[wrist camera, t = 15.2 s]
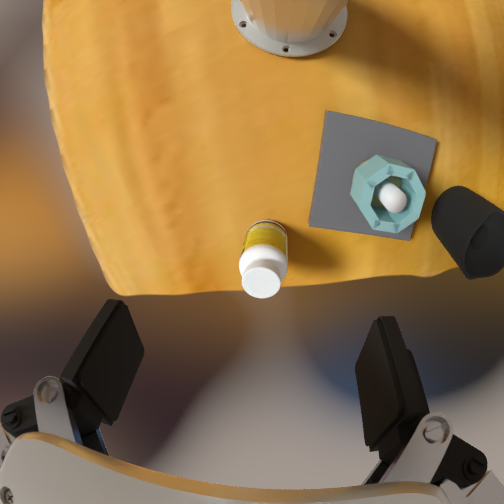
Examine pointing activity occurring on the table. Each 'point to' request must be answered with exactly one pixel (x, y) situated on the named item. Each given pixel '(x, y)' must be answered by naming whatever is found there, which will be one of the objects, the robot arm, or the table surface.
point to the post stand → (352, 156)
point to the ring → (376, 173)
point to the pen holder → (470, 231)
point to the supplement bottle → (264, 258)
